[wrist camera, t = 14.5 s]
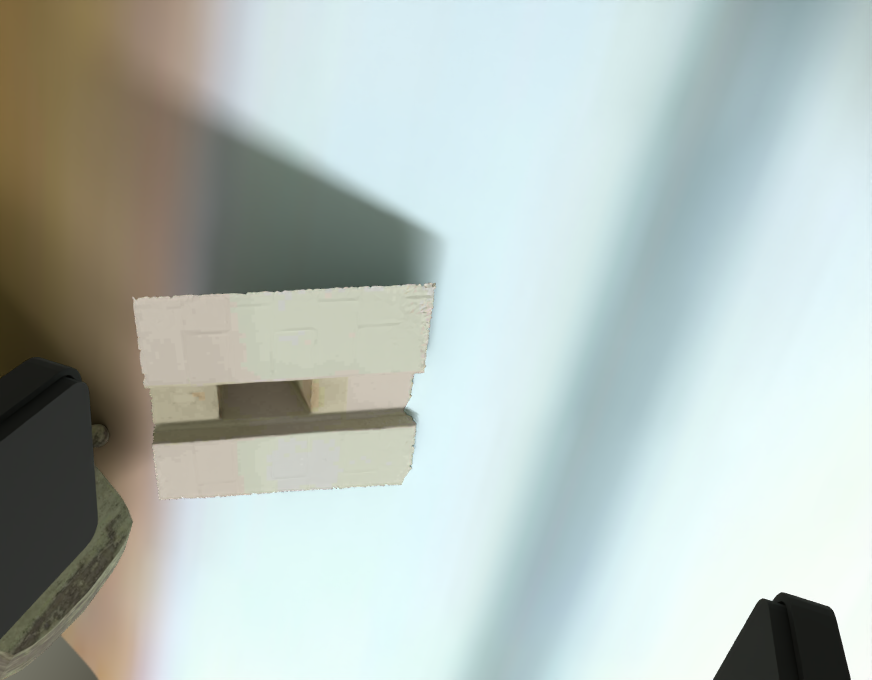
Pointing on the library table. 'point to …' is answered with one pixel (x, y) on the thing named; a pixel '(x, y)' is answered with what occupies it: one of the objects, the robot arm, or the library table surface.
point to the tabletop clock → (71, 579)
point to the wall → (282, 387)
